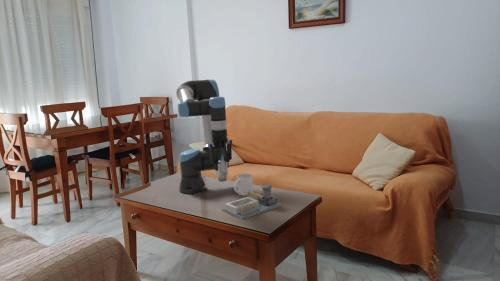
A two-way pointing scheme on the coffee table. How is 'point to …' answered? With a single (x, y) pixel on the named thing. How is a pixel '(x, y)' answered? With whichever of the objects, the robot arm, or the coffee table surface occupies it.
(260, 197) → the ring lever
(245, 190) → the mug
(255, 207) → the plate
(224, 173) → the pin
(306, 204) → the coffee table surface
